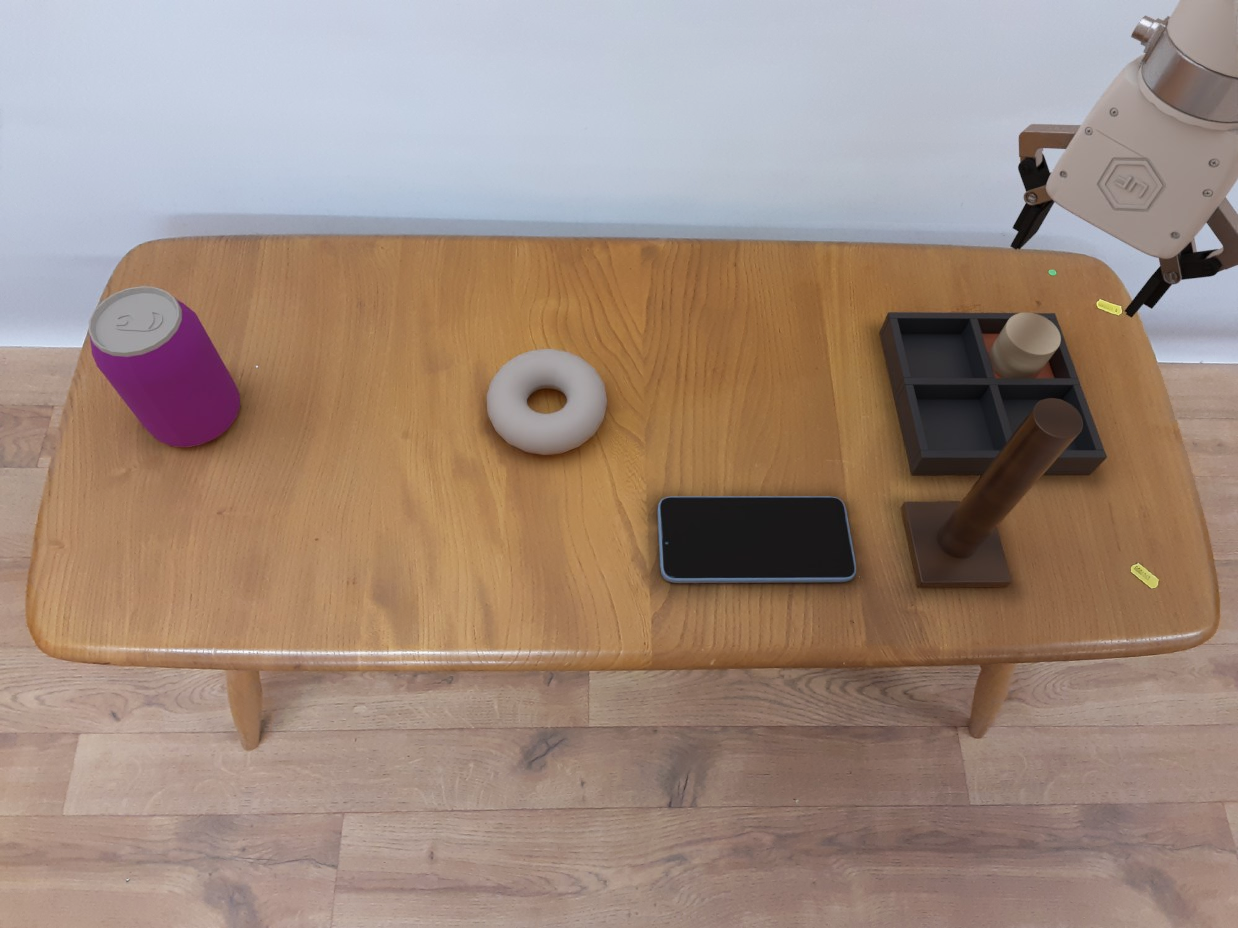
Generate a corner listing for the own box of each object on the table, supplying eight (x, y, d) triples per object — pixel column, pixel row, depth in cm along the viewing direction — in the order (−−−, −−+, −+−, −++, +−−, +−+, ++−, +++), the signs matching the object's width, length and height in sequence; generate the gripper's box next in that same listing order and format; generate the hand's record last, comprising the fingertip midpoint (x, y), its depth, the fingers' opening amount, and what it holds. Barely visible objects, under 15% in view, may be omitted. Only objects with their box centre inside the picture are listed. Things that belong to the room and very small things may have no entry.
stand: (1007, 587, 68) (1132, 466, 52) (917, 587, 68) (1016, 467, 52) (985, 506, 71) (1096, 372, 56) (900, 507, 71) (988, 371, 56)
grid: (1090, 475, 73) (1107, 457, 71) (911, 475, 73) (922, 457, 70) (1041, 333, 81) (1055, 312, 79) (878, 332, 80) (888, 311, 78)
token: (1049, 362, 78) (1071, 333, 75) (1022, 391, 77) (1043, 363, 73) (1005, 333, 80) (1024, 303, 76) (977, 361, 78) (995, 332, 75)
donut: (483, 462, 72) (606, 464, 72) (478, 439, 69) (606, 441, 69) (493, 364, 77) (608, 366, 77) (489, 338, 74) (608, 341, 74)
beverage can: (140, 456, 71) (65, 364, 61) (156, 378, 75) (89, 280, 65) (238, 450, 72) (181, 358, 61) (249, 374, 76) (197, 276, 65)
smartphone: (859, 578, 67) (661, 580, 66) (856, 583, 67) (660, 585, 67) (844, 493, 70) (657, 493, 70) (841, 498, 71) (656, 498, 70)
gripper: (1055, 34, 55) (955, 239, 70) (1333, 169, 49) (1161, 362, 64) (1111, -12, 58) (1004, 193, 73) (1379, 109, 52) (1205, 307, 67)
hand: (1078, 272), depth 68 cm, fingers open, 9 cm apart
